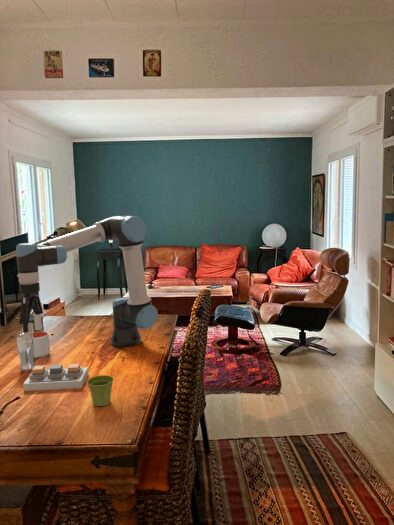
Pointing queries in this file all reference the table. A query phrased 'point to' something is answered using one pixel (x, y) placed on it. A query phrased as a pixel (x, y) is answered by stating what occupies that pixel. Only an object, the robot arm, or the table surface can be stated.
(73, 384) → the console
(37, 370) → the key
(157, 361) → the table surface
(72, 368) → the key
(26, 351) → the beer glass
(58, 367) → the key middle
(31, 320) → the coffee can
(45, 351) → the cup
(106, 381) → the plant pot
